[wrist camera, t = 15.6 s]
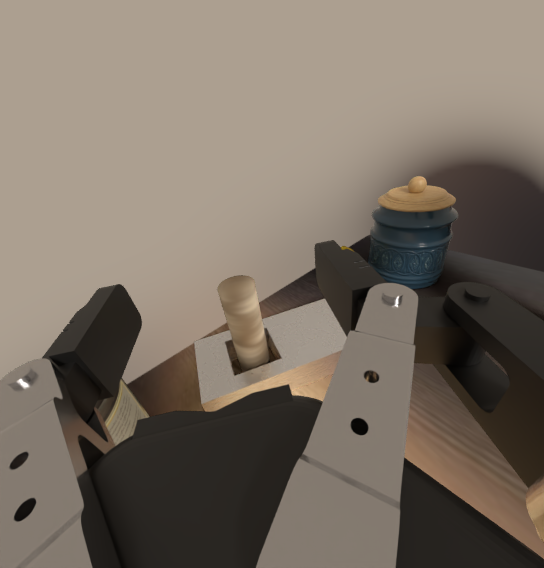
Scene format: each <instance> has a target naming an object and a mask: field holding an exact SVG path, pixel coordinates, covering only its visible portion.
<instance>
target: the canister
mask: <svg viewBox="0 0 544 568" xmlns="http://www.w3.org/2000/svg"><path fill="white" fill-rule="evenodd" d="M426 185H427V183H426V179H425V178H424V177H420V176H418V177H414V178H412V180H410V182H409V184H408V186H403V187H397V188H394V189H391V190H390V191H389V192H388V193H386V194H384V195H382V196H381V197H380V198H379V199H378V203H379V204H380V206H379V207H377V208H375V209H374V210H373V212H372V217H373V219H374V226H373V227H372V228H371V230H370V234H371V241H370V252H369V257H368V264H369V265H370V266H371V267H372V268H373V269H374V270H375V271H376V272H377V273H378V274H379V275H380V276H381V277H382V278H383V279H384V280H385V281H386V282H387V283H396V284H400V285H404V286H406V287H408V288H410V289H419V288H424V287H428V286H431V285H433V284H434V283H436V282H437V281H438V279H439V277H440V276H441V274H442V272H443V269H444V261H445V257H446V253H447V249H448V246H449V242H450V240H451V239H452V236H453V233H452V231H451V224H452V223H453V222H454V221H455V220H456V219H457V218H458V213H457V211H456V210H455V209H453V208H452V207H451V206H452V205H453V204H454V203H455V197H454V196H452V195H451V194H449V193H447V192H446V190H445V189H442V188H440V187H435V186H426Z"/></svg>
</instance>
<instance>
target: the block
mask: <svg viewBox="0 0 544 568" xmlns="http://www.w3.org/2000/svg"><path fill="white" fill-rule="evenodd" d="M262 322H263V327H264V332H265V337H266V342H267V347H268V348H271V350H272V352H273V354H274V356H275V358H276V361H273V362H271V363H268V364H265V365H262V366H260V367H257V368H254V369H252V370H249V371H246V372H244V373H241V374H238V375H235V374H234V370H233V366H232V362H231V361H234V360H236V359H238V357H237V353H236V350H235V347H234V343H233V340H232V337H231V333H230V330H228V331H225V332H222V333H219V334H216V335H213V336H210V337H207V338H204V339H201V340H198V341H195V342H194V345H195V353H196V362H197V370H198V379H199V387H200V396H201V404H202V406H203V408H204V410H205V412H211V411H216V410H219V409H221V408H223V407H225V406H227V405H229V404H231V403H233V402H235V401H237V400H239V399H241V398H243V397H245V396H247V395H249V394H251V393H253V392H258V391H262V390H266V389H270V388H275V387H279V386H283V385H287V384H289V386H290V390H291V392H292V391H294V390H297V389H299V388H302V387H304V386H307V385H309V384H312V383H314V382H317V381H319V380H322V379H324V378H326V377H329V376H331V375H333V374H334V371H335V368H336V366H337V363H338V360H339V358H340V355H341V352H342V349H343V347H344V344H345V341H346V339H347V337H346V335H345V333H344V331H343V329H342V328H341V326H340V324H339V322H338V321H337V319H336V317H335V315H334V314H333V312H332V310H331V308H330V307H329V305H328V303H327V301H326V300H325V299H322V300H319V301H316V302H313V303H310V304H307V305H304V306H301V307H298V308H295V309H291V310H288V311H285V312H282V313H279V314H276V315H273V316H270V317H267V318H264V319H262Z"/></svg>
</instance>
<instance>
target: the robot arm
mask: <svg viewBox="0 0 544 568" xmlns="http://www.w3.org/2000/svg"><path fill="white" fill-rule="evenodd" d="M315 265H316V278H317V283H318V286H319V289H320V291H321V292H322V294H323V296H324V298H325V300H326V301H327V303H328V305H329V307H330V308H331V310H332V312H333V314H334V315H335V317H336V319H337V321H338V322H339V324H340V326H341V328H342V329H343V331H344V333H345V335H346V337H347V339H346V341H345V344H344V347H343V349H342V352H341V355H340V358H339V360H338V363H337V366H336V368H335V371H334V374H333V376H332V379H331V382H330V384H329V387H328V390H327V392H326V395H325V398H324V401H320V400H317V399H314V398H310V397H304V396H293V395H292V394H291V390H290V386H289V384H287V385H283V386H279V387H275V388H270V389H266V390H262V391H258V392H253V393H251V394H249V395H247V396H245V397H243V398H241V399H239V400H237V401H235V402H233V403H231V404H229V405H227V406H225V407H223V408H221V409H219V410H216V411H211V412H205V411H173V412H169V413H165V414H160V415H156V416H152V417H148V418H143V419H139V420H137V424H136V427H135V431H134V434H133V435H132V436H130V437H128V438H127V439H125V440H123V441H122V442H120V443H119V444H117V445H116V446H115V443H114V441H113V439H112V437H111V435H110V433H109V431H108V429H107V427H106V424H105V422H104V420H103V418H102V416H101V414H100V412H99V410H98V409H97V408H96V407H95V405H96V403H97V401H98V400H103V399H107V398H111V397H114V395H115V393H116V390H117V388H118V385H119V383H120V380H121V378H122V375H123V373H124V370H125V368H126V365H127V362H128V360H129V357H130V355H131V352H132V349H133V347H134V345H135V342H136V339H137V337H138V334H139V332H140V329H141V326H142V321H141V316H140V313H139V312H138V310H137V308H136V307H135V305H134V303H133V301H132V299H131V298H130V296H129V295H128V293H127V291H126V289H125V288H124V287H123V286H122V285H120V284H118V285H113V286H109V287H103V288H99V289H98V290H97V291H96V293H95V294H94V295H93V296H92V298H91V299H90V301H89V302H88V303H87V304H86V305H85V306H84V307H83V308H82V309H80V310H79V311H78V312H77V313H76V314H75V315H74V317H73V318H72V319H71V320H70V322H69V323H70V324H67V326H66V327H65V328H64V330H63V332H61V334H60V335H59V336H58V338H57V339H56V340H55V342H54V343H53V344H52V346H51V347H50V348H49V350H48V351H47V352H46V353H45V355H44V356H43V357H42V359H36V360H33V361H30V362H28V363H25V364H23V365H21V366H19V367H17V368H16V369H14V370H13V371H11V372H10V373H8V374H7V375H6V376H5V377H3V378H2V379H1V380H0V568H544V559H543V558H542V557H540V556H539V555H538V554H536V553H535V552H534V551H532V550H531V549H530V548H528V547H527V546H526V545H524V544H523V543H521V542H520V541H519V540H517V539H516V538H515V537H513V536H512V535H510V534H509V533H508V532H506V531H505V530H503V529H502V528H501V527H499V526H498V525H497V524H495V523H494V522H492V521H491V520H490V519H488V518H487V517H486V516H484V515H483V514H481V513H480V512H479V511H477V510H476V509H475V508H473V507H472V506H470V505H469V504H468V503H466V502H465V501H464V500H462V499H461V498H459V497H458V496H457V495H455V494H454V493H452V492H451V491H450V490H448V489H447V488H446V487H444V486H443V485H441V484H440V483H439V482H437V481H436V480H435V479H433V478H432V477H430V476H429V475H428V474H426V473H425V472H424V471H422V470H421V469H419V468H418V467H417V466H415V465H414V464H413V463H411V462H410V461H408V460H407V459H406V458H404V454H405V444H406V434H407V425H408V415H409V405H410V395H411V386H412V376H413V366H414V363H424V364H433V365H434V366H435V368H436V369H437V370H438V371H439V373H440V374H441V375H442V377H443V378H444V379H445V380H446V382H447V383H448V384H449V386H450V387H451V388H452V390H453V391H454V392H455V393H456V395H457V396H458V397H459V399H460V400H461V401H462V403H463V404H464V405H465V406H466V408H467V409H468V410H469V412H470V413H471V414H472V416H473V417H474V418H475V419H476V421H477V422H478V423H479V425H480V426H481V427H482V429H483V430H484V431H485V432H486V434H487V435H488V436H489V438H490V439H491V440H492V441H493V443H494V444H495V445H496V447H497V448H498V449H499V451H500V452H501V453H502V454H503V456H504V457H505V458H506V460H507V461H508V462H509V464H510V465H511V466H512V467H513V469H514V470H515V471H516V473H517V474H518V475H519V477H520V478H521V479H522V480H523V482H524V483H525V484H526V486H527V487H528V490H527V493H526V506H527V509H528V512H529V515H530V517H531V519H532V521H533V523H534V525H535V527H536V530H537V533H538V535H539V537H540V538H541V540H542V541H543V543H544V321H543V320H542V319H540V318H539V317H537V316H536V315H534V314H533V313H531V312H530V311H528V310H527V309H526V308H524V307H523V306H521V305H520V304H518V303H517V302H515V301H514V300H512V299H511V298H509V297H508V296H506V295H505V294H503V293H502V292H500V291H499V290H497V289H495V288H493V287H491V286H488V285H485V284H481V283H475V282H459V283H455V284H453V285H451V286H450V287H449V288H448V290H447V293H446V297H418V296H417V294H416V293H415V292H414V291H413V290H412V289H410V288H408V287H406V286H404V285H400V284H396V283H387V282H386V281H385V280H384V279H383V278H382V277H381V276H380V275H379V274H378V273H377V272H376V271H375V270H374V269H373V268H372V267H371V266H370V265H369V264H368V263H367V262H366V261H365V260H364V259H363V258H362V257H361V256H360V255H359V254H358V253H356V252H354V251H352V250H349V249H344V250H342V249H341V248H340V247H339V245H338V244H337V243H336V242H335V241H334V240H332V241H327V242H321V243H317V244H316V245H315ZM486 351H487V352H488V353H489V354H490V355H491V356H492V357H493V358H494V359H495V360H496V361H497V362H498V363H500V364H501V366H502V367H503V368H504V369H505V371H506V372H507V374H508V376H507V375H506V374H505V373H504V372H503V371H502V370H501V369H500V368H499V367H498V366H497V365H496V364H495V363H494V362H492V361H491V360H490V359H489V358H488V357H487V356H486V355H485V352H486Z"/></svg>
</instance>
